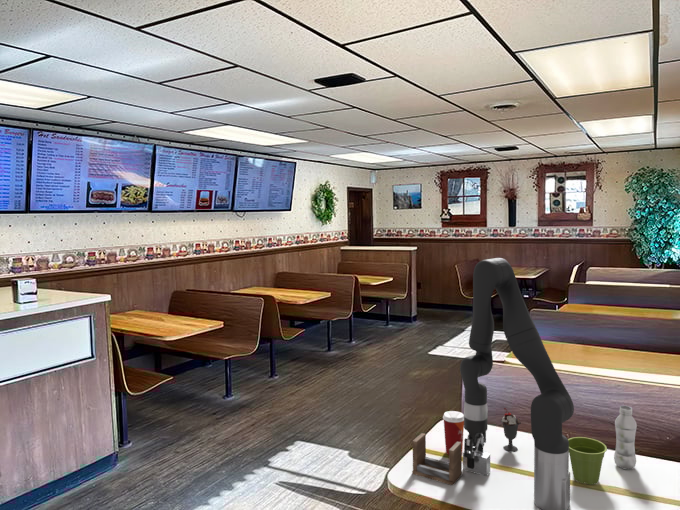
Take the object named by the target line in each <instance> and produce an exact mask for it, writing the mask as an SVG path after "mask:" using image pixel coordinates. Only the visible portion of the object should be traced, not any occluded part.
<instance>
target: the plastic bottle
mask: <svg viewBox="0 0 680 510" xmlns="http://www.w3.org/2000/svg"><path fill="white" fill-rule="evenodd" d="M632 415H633V408H632V407H631V406H629V405H628V406H627V405H620V406H619V415H618V416H617V417H616V418H615V421H614V428H615V437H616V439H615V440H616V441H615V442H616V443H615V444H616V445H615V451H614V454H613V460H614V464H615V465H616V466H617V467H619V468H620V469H623V470H632V469H634V468H635V467H636V464H637V456H636V450H635V446H636V445H635V441H636V440H635V439H636V434H637V428H638V427H637V426H638V424H637V421H636V419H635V417H633V416H632Z"/></svg>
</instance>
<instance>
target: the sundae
mask: <svg viewBox="0 0 680 510" xmlns="http://www.w3.org/2000/svg"><path fill="white" fill-rule="evenodd" d="M503 409H504V410H505V413H504V416H503V417H502V419H501V420H500V422H501V424H502V426H503V433H504V437H506V439H507V440H508V444H507V445H504V446H503V450H505V451H506V452H510V453H514V452H517V451H518V448H517V447H516V446H515V445H513V440H514V439H516V438H517V435H518V428H519V425H521V421H520V416H518V418H517V417H516V415H515V414H513V413H511V412H509V411H508V409H507V408H506V407H505V408H503ZM507 412H508V413H507Z"/></svg>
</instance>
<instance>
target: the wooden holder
mask: <svg viewBox="0 0 680 510" xmlns="http://www.w3.org/2000/svg"><path fill="white" fill-rule="evenodd" d="M426 435H427V433H423V432H421V433H420V434H419V435H418V436H416V437H415V438H414V439H413V440H412V470H411V473H412V475H416V476H418V477H422V478H425V479H429V480H433V481H436V482H439V483H442V484H447V485H449V486H454V485H455V484H456V483H457V482H458V480H459V479H460V478H461V477H462V476H463V449H462V446H461V442H458V441H457V442H456V443H455V444H454V445H453V446H452V447H451V448H450V449H449V455H448V462H447V461H443V460H439V459H437V458H432V457H429V456H428V457H427V452H426V451H427V445H426V443H427V442H426V440H427V439H426Z"/></svg>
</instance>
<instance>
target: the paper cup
mask: <svg viewBox="0 0 680 510" xmlns="http://www.w3.org/2000/svg"><path fill="white" fill-rule="evenodd" d="M442 419H443V427H444V429H443V430H444V444H445V453H446V454H447V455H448V456H449V449H450V448H451V447H452V446H453V445H454V444H455V443H456V442H457V441H458V442H461V446H462V450H464V447H463V446H464V430H465V428H464V413H463V412H460V411H457V410H456V411H455V410H449V411H445V412H444V413H443V415H442Z"/></svg>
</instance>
